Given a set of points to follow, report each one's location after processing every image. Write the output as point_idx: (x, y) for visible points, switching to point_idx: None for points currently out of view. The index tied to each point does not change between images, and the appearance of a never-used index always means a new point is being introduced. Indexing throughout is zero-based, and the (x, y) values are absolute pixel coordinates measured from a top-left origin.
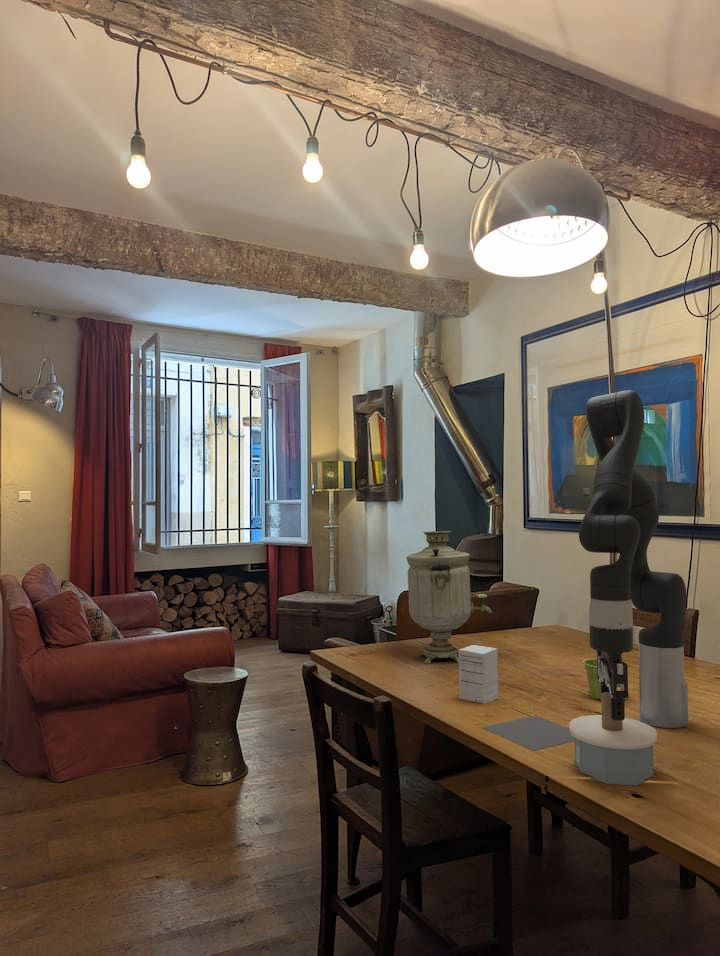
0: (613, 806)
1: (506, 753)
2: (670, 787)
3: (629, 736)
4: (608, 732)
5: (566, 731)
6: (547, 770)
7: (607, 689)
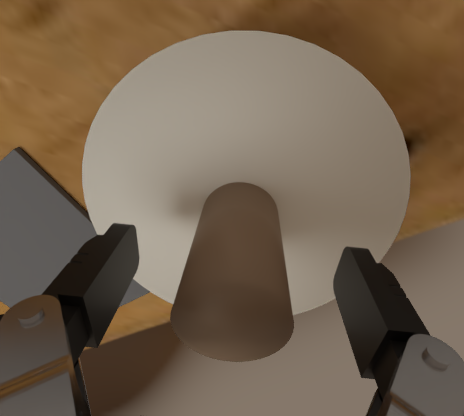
0: (438, 216)
1: (170, 320)
2: (368, 31)
3: (343, 188)
4: (292, 242)
5: (2, 201)
6: None
7: (100, 306)
